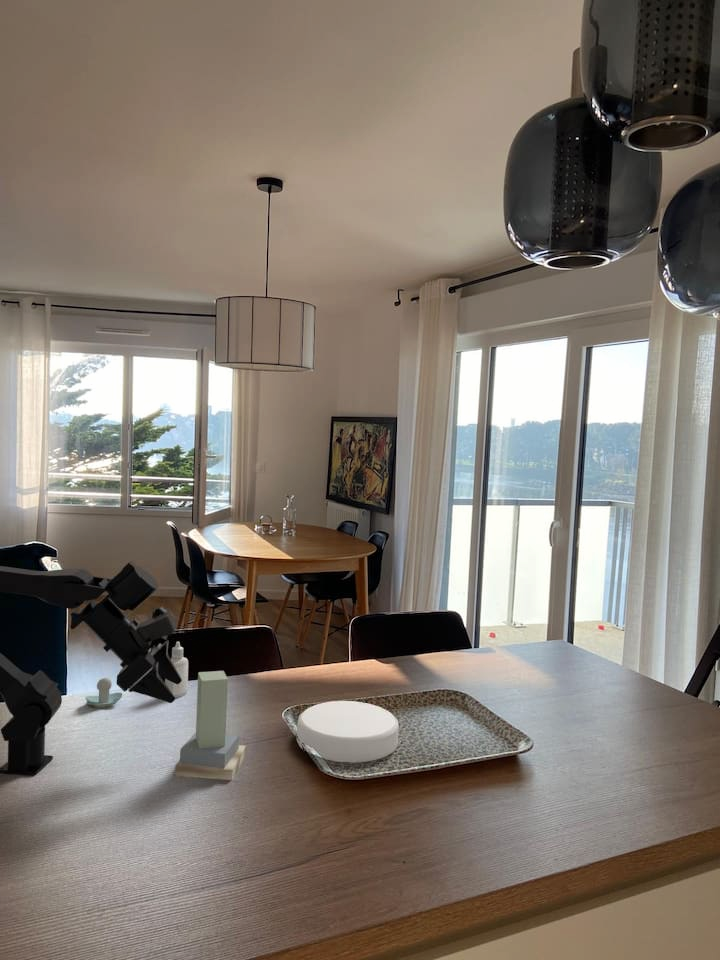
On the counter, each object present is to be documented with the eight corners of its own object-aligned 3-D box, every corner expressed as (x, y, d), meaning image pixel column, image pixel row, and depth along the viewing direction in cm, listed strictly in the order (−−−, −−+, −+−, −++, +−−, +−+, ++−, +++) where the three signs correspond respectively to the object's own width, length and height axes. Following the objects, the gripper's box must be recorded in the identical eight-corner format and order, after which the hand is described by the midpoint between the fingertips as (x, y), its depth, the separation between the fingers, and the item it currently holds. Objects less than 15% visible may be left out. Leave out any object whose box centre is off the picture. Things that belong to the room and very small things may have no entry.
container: (276, 747, 138) (277, 723, 137) (328, 713, 155) (329, 692, 155) (370, 773, 129) (371, 748, 128) (413, 735, 146) (415, 712, 146)
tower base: (232, 784, 123) (232, 770, 123) (174, 779, 124) (175, 765, 124) (245, 758, 133) (245, 745, 133) (192, 754, 134) (192, 741, 134)
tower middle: (224, 768, 124) (224, 753, 123) (179, 763, 125) (180, 749, 125) (238, 748, 131) (239, 735, 131) (196, 744, 133) (197, 730, 132)
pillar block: (225, 745, 127) (227, 679, 126) (199, 748, 125) (201, 680, 124) (220, 735, 131) (223, 670, 130) (195, 737, 129) (198, 672, 129)
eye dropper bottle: (191, 695, 161) (193, 643, 161) (167, 700, 158) (169, 646, 157) (184, 689, 165) (186, 638, 164) (160, 693, 162) (162, 641, 161)
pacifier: (82, 703, 155) (87, 711, 150) (83, 674, 155) (87, 682, 149) (117, 698, 158) (123, 707, 153) (118, 670, 158) (124, 677, 153)
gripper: (140, 609, 116) (206, 677, 118) (157, 585, 135) (215, 644, 137) (87, 657, 115) (155, 724, 118) (112, 626, 134) (170, 685, 136)
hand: (176, 691), depth 127 cm, fingers open, 9 cm apart
